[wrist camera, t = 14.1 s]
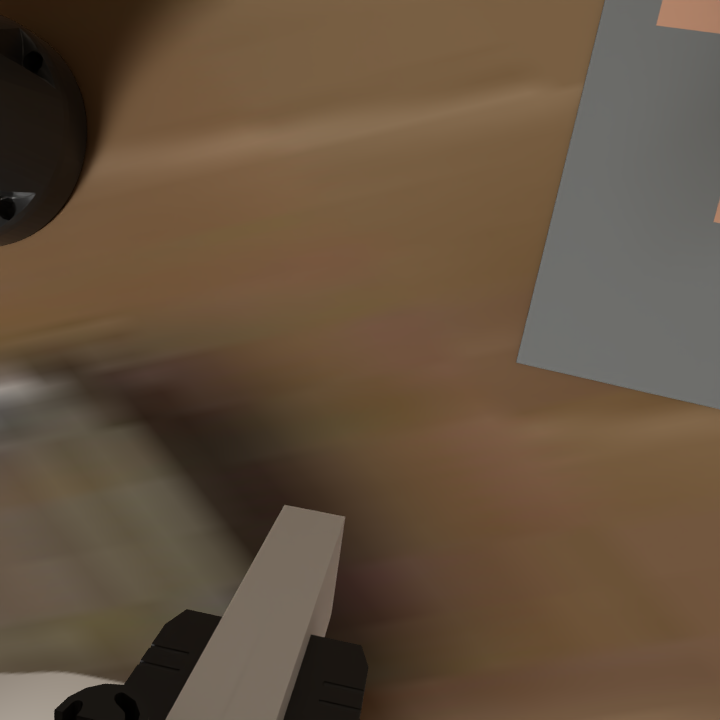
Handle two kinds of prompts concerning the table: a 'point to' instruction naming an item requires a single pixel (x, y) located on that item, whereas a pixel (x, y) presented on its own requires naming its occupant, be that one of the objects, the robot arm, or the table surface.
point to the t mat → (639, 211)
